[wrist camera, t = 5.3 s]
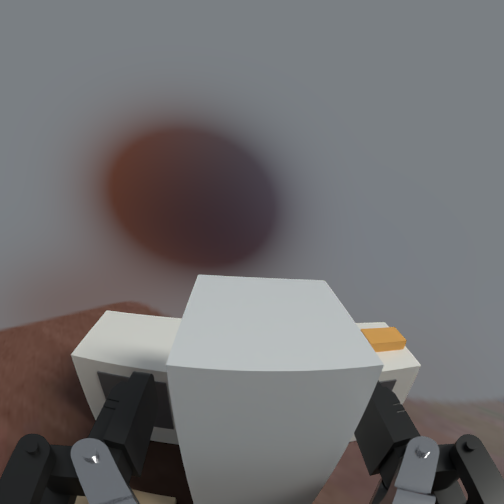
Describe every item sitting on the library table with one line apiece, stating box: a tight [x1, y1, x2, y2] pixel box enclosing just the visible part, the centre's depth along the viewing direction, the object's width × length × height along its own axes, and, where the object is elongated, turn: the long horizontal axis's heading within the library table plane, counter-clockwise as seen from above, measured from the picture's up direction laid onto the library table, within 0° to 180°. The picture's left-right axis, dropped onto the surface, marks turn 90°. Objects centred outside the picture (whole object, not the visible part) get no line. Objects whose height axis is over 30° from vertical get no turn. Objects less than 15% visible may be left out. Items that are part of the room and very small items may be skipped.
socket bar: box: [71, 310, 421, 445], centre depth 15 cm, size 18×5×7 cm, turn 92°
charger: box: [166, 275, 384, 504], centre depth 10 cm, size 4×7×11 cm, turn 2°
